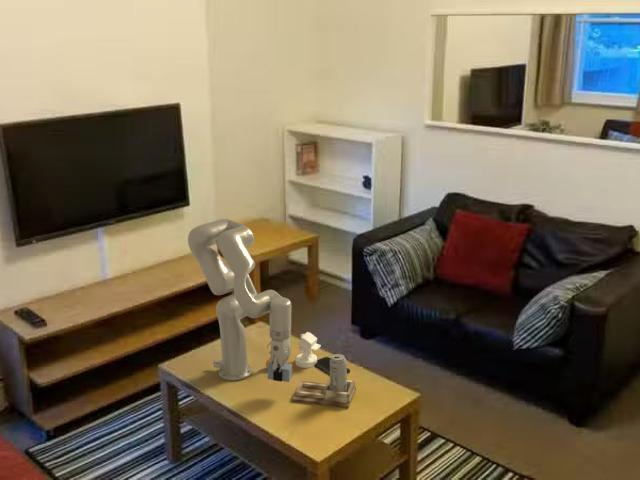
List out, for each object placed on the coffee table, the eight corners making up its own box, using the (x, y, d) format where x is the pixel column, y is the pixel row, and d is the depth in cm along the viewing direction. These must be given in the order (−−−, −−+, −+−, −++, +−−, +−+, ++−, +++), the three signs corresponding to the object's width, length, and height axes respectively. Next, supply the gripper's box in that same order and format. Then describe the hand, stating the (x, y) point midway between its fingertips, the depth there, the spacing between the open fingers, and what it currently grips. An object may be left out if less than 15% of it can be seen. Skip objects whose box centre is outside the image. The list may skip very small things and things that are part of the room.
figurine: (260, 366, 277) (259, 338, 273) (273, 361, 280) (272, 334, 276) (272, 374, 270) (271, 346, 267) (285, 369, 274) (284, 341, 270)
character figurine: (301, 355, 284) (301, 328, 281) (323, 360, 281) (322, 332, 277) (291, 365, 277) (291, 337, 273) (313, 370, 273) (313, 342, 269)
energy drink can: (349, 397, 252) (349, 359, 247) (333, 400, 250) (332, 362, 245) (343, 389, 257) (343, 352, 252) (328, 391, 255) (327, 354, 251)
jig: (292, 401, 252) (291, 390, 250) (302, 383, 263) (301, 372, 262) (348, 408, 247) (348, 396, 245) (355, 389, 259) (355, 378, 257)
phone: (327, 356, 282) (351, 370, 271) (327, 358, 283) (351, 372, 271) (311, 362, 278) (335, 376, 266) (311, 364, 278) (335, 379, 267)
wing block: (267, 378, 253) (267, 366, 251) (270, 373, 257) (270, 361, 255) (289, 382, 252) (289, 369, 250) (291, 376, 255) (292, 364, 253)
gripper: (283, 344, 239) (282, 391, 246) (297, 322, 254) (296, 367, 261) (262, 341, 241) (262, 387, 247) (277, 319, 256) (276, 364, 263)
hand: (279, 376), depth 254 cm, fingers closed on wing block, 4 cm apart
